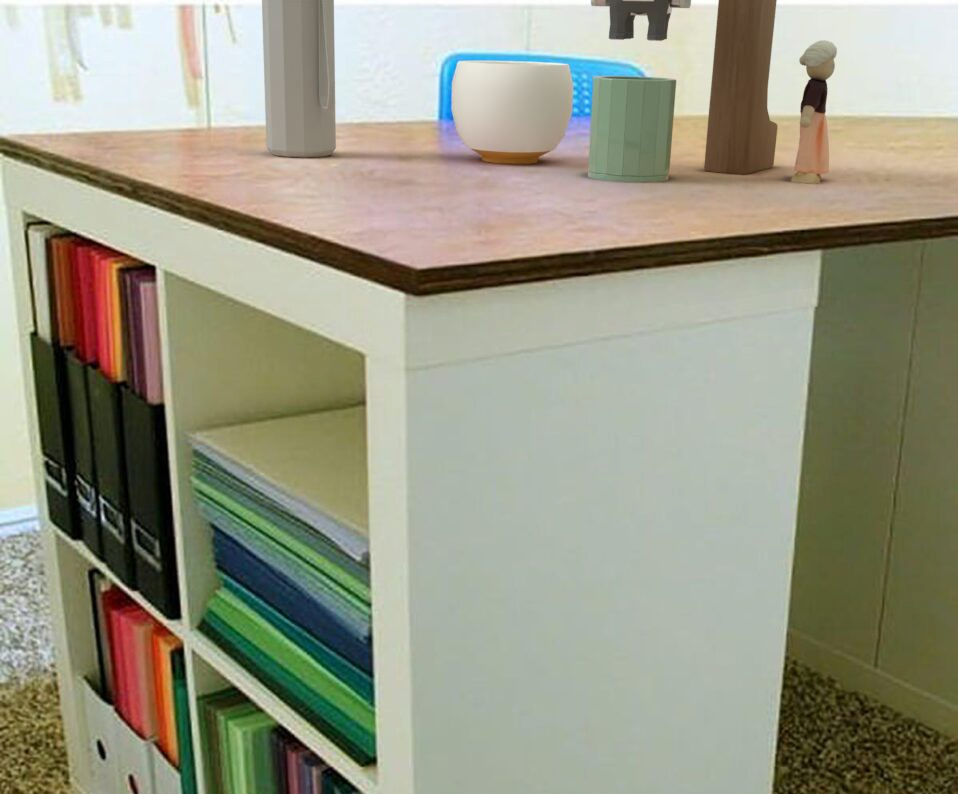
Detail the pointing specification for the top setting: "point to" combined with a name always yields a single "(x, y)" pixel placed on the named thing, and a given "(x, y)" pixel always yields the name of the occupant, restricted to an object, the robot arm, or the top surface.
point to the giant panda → (648, 3)
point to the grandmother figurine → (814, 114)
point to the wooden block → (741, 89)
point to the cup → (511, 108)
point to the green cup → (631, 128)
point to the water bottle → (299, 77)
